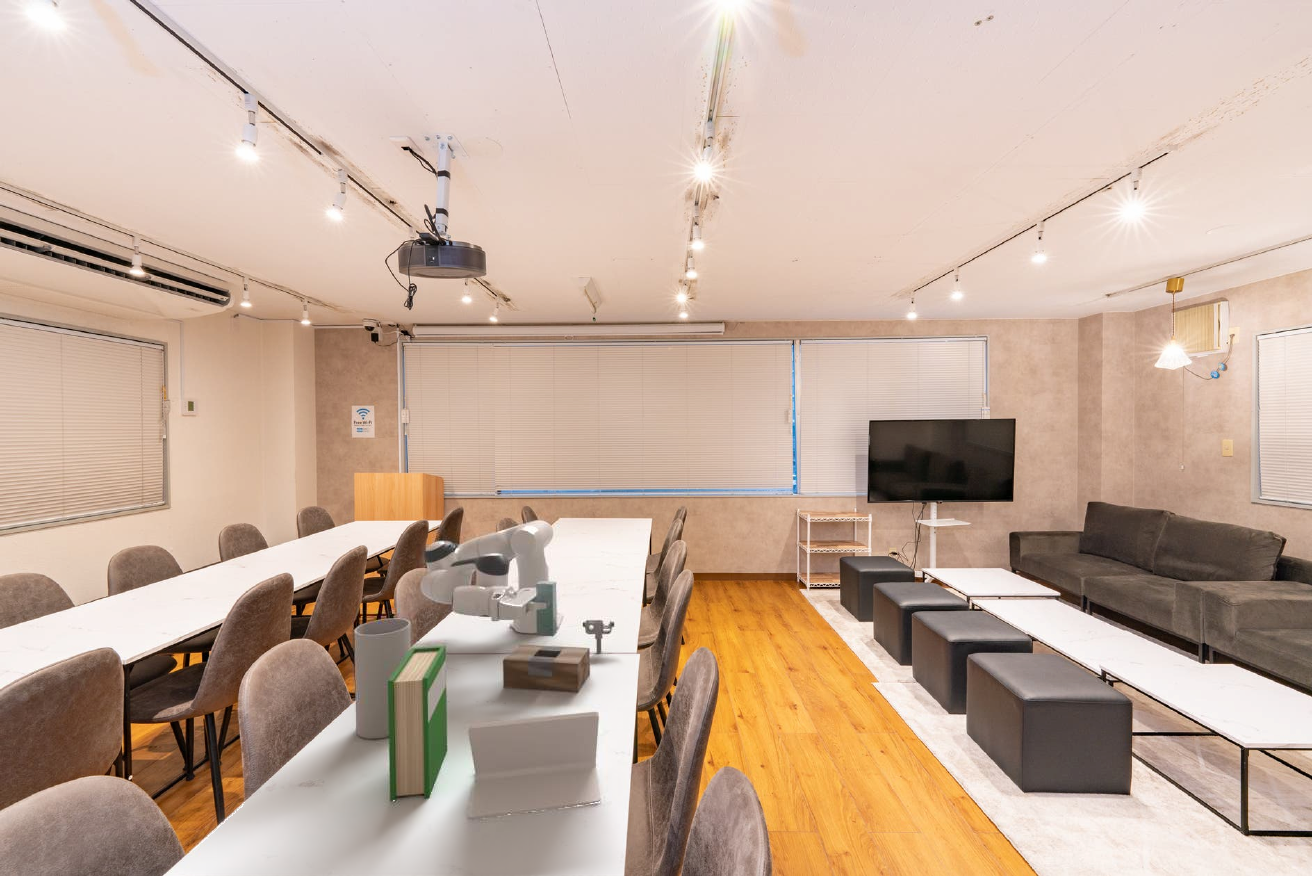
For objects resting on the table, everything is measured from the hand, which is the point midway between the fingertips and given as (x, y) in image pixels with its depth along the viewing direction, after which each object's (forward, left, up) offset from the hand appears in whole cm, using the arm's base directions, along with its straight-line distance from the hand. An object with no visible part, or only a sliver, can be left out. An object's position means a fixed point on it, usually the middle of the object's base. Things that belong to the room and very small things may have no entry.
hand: (549, 603), depth 169 cm
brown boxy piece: (0, -1, -23) cm, 23 cm away
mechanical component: (-24, +8, -23) cm, 34 cm away
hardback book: (+48, -12, -23) cm, 54 cm away
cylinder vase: (+31, -32, -23) cm, 50 cm away
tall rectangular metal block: (0, -1, -9) cm, 9 cm away
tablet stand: (+48, +14, -23) cm, 55 cm away
